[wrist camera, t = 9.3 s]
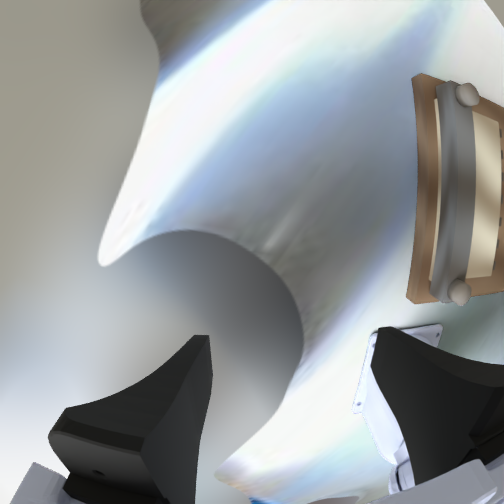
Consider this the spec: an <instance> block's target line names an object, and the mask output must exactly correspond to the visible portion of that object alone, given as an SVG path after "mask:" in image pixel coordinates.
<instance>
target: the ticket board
mask: <svg viewBox="0 0 504 504" xmlns="http://www.w3.org/2000/svg"><path fill="white" fill-rule="evenodd" d="M412 85H413V93H414V102H415V112H416V125H417V145H418V192H417V212H416V226H415V237H414V246H413V255H412V263H411V270H410V276H409V283H408V289H407V294H406V298H408V299H409V300H410V301H411V302H412V303H414V304H421V303H430V302H438V301H440V302H442V303H449V302H455V303H456V304H458V305H459V306H463V305H465V304H466V303H467V302H468V301H469V299H470V297H474V296H480V295H486V294H492V293H498V292H503V291H504V108H503V107H501V106H499V105H497V104H495V103H493V102H491V101H489V100H487V99H485V98H483V97H481V96H479V94H478V91H477V90H476V88H475V87H474V86H473V85H472V84H471V83H466V84H463V85H460V84H458V83H456V82H453V81H451V80H450V81H448V82H445V81H442V80H439V79H437V78H434V77H431V76H428V75H425V74H422V73H421V74H419V75H417V76H415V77H413V78H412Z"/></svg>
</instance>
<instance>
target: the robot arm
mask: <svg viewBox="0 0 504 504" xmlns="http://www.w3.org/2000/svg"><path fill="white" fill-rule="evenodd" d="M442 330H443V326H442V325H440V324H436V325H430V326H424V327H418V328H412V329H405V330H398V329H396V328H394V327H391V326H390V327H382V328H379V329H378V333H375V334H373V335H372V336H371V337H370V339H369V344H368V349H367V353H366V358H365V362H364V366H363V370H362V374H361V378H360V382H359V386H358V389H357V393H356V397H355V400H354V403H353V407H352V412H353V413H354V414H357V413H362V414H363V417H364V419H365V421H366V424H367V426H368V428H369V431H370V433H371V435H372V437H373V440H374V442H375V445H376V447H377V449H378V451H379V453H380V454H381V456H382V457H383V458H384V459H386V460H387V461H389V462H390V463H393V464H395V465H396V466H394V467H393V468H392V470H391V472H390V476H389V493H390V495H388V496H385V497H382V498H380V499H377V500H374V501H372V502H369V503H366V504H504V365H499V364H490V363H483V362H479V361H474V360H470V359H466V358H463V357H459V356H456V355H453V354H450V353H448V352H445V351H443V350H441V349H438V348H437V347H438V344H439V340H440V337H441V334H442ZM436 334H437V335H436ZM209 341H210V340H209V335H194V336H193V337H192V338H191V339H190V340H189V341H188V342H187V343H186V344H185V345H184V346H183V347H182V348H181V349H180V350H179V351H178V352H176V353H175V354H174V355H173V356H172V357H171V358H170V359H169V360H168V361H167V362H165V363H164V364H163V365H162V366H161V367H159V368H158V369H157V370H156V371H154V372H153V373H151V374H150V375H149V376H147V377H145V378H144V379H142V380H141V381H139V382H138V383H136V384H134V385H132V386H130V387H128V388H126V389H124V390H122V391H120V392H118V393H116V394H113V395H111V396H108V397H106V398H103V399H100V400H97V401H94V402H90V403H86V404H82V405H78V406H73V407H68V408H66V409H65V410H64V411H63V413H62V414H61V416H60V417H59V419H58V420H57V422H56V423H55V425H54V426H53V428H52V430H51V431H50V433H49V435H48V439H49V443H50V446H51V447H52V449H53V451H54V452H55V454H56V455H57V456H58V457H59V459H60V460H61V462H62V463H63V464H64V465H65V467H66V468H67V469H68V470H69V472H70V474H69V476H68V478H67V479H66V478H65V477H63V476H62V475H60V474H59V473H57V472H55V471H53V470H50V469H48V468H46V467H44V466H42V465H40V464H38V463H36V462H33V464H32V466H31V467H30V469H29V471H28V472H27V474H26V476H25V477H24V479H23V481H22V483H21V484H20V486H19V488H18V490H17V492H16V493H15V495H14V497H13V499H12V501H11V503H10V504H195V493H196V476H197V465H198V464H197V463H198V455H199V445H200V439H201V434H202V430H203V425H204V421H205V417H206V413H207V409H208V404H209V400H210V395H211V388H212V377H213V373H212V372H213V371H212V361H211V351H210V342H209ZM374 343H375V345H373V344H374Z"/></svg>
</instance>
